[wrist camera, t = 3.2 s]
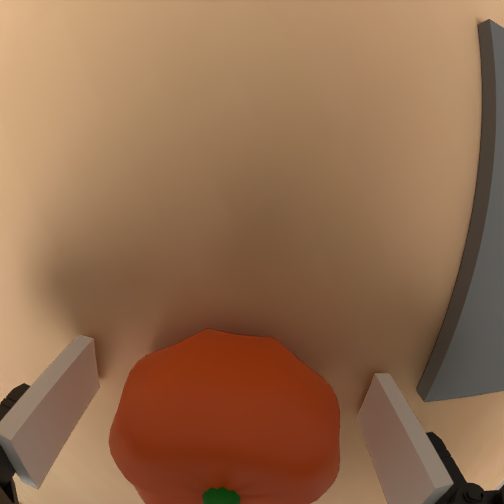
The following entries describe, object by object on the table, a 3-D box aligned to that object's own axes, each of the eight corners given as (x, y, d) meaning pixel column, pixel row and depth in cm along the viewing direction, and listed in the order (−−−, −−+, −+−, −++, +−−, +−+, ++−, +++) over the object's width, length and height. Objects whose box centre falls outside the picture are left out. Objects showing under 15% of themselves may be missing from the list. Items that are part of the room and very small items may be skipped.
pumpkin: (140, 287, 12) (34, 411, 5) (344, 315, 12) (426, 456, 5) (144, 425, 14) (100, 544, 6) (302, 445, 14) (321, 569, 7)
